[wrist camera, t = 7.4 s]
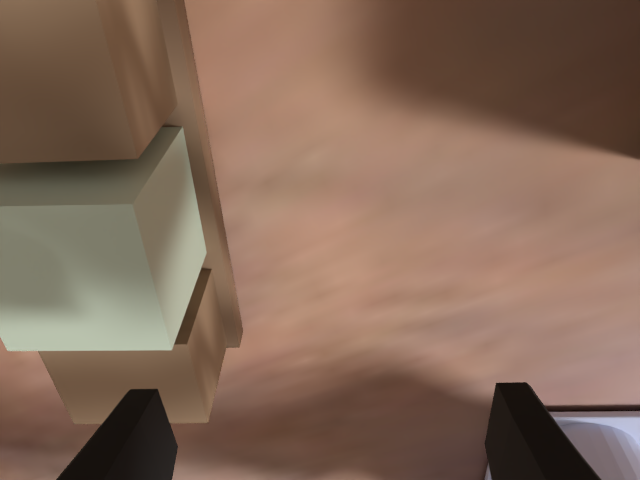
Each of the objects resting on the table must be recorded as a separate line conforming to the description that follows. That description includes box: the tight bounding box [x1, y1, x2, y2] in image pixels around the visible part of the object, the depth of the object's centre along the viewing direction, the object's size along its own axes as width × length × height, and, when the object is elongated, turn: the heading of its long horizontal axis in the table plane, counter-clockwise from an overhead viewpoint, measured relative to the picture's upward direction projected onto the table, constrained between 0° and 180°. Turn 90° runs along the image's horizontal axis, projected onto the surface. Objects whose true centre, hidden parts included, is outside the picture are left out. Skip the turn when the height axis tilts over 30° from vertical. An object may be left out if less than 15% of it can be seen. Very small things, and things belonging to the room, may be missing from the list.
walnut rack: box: [0, 0, 243, 424], centre depth 17 cm, size 15×6×5 cm, turn 3°
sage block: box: [0, 127, 207, 351], centre depth 16 cm, size 5×5×5 cm
